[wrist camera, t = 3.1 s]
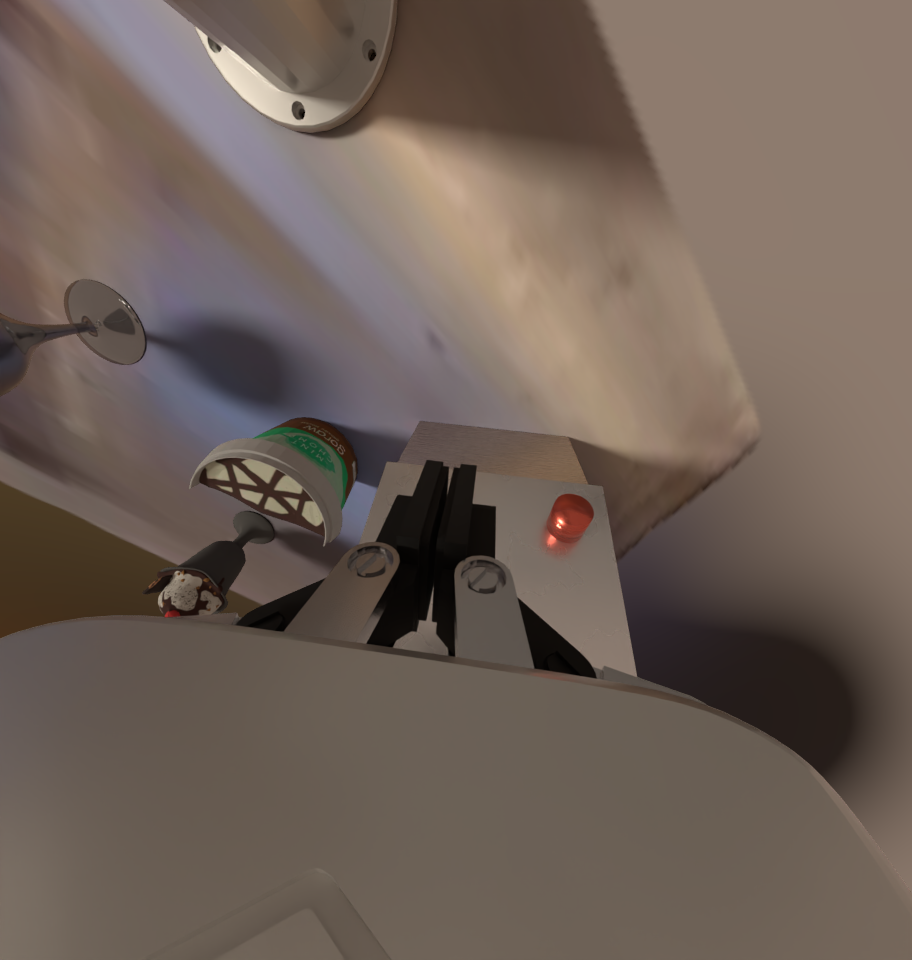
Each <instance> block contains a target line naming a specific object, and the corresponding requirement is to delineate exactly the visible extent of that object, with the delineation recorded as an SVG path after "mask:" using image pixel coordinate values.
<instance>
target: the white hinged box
mask: <svg viewBox="0 0 912 960" xmlns="http://www.w3.org/2000/svg"><path fill="white" fill-rule="evenodd" d="M426 460H433V461H442V462H443V466H448V467H449V469H454V467H457V468H460V465H461V464H468V465H477V469H476V472H483V473H492V474H501V475H509V476H518V477H527V478H536V479H544V480H553V481H562V482H570V483H579V484H588V483H587V480H586V478H585V476H584V473H583V471H582V468H581V466H580V464H579V461H578V459H577V457H576V454H575V452H574V449H573V447H572V445H571V442H570V440H569V438H568V437H563V436H554V435H545V434H536V433H526V432H517V431H508V430H499V429H489V428H480V427H471V426H462V425H452V424H443V423H434V422H425V421H419V423H418V425H417V427H416V429H415V431H414V433H413V434H412V436H411V438H410V440H409V442H408V444H407V446H406V448H405V449H404V451H403V453H402V455H401V457H400V459H399V461H398V462H397V463H405V464H414V465H422V466H424V465H425V463H426Z"/></svg>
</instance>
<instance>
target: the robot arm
mask: <svg viewBox="0 0 912 960" xmlns="http://www.w3.org/2000/svg"><path fill="white" fill-rule="evenodd" d="M164 1H165V2H166V3H167V4H169V5H170V6H171V7H172V8H173V9H175V10H176V11H177V12H178V13H180V14H181V15H182V16H183V17H185V18H186V19H187V20H188V21H189V22H191V23H192V24H193V25H194V27H195V29H196V32H197V34H198V36H199V38H200V40H201V42H202V44H203V45H204V47H205V49H206V51H207V53H208V55H209V57H210V59H211V60H212V62H213V63H214V65H215V66H216V68H217V69H218V71H219V72H220V73H221V75H222V76H223V78H224V79H225V81H226V82H227V83H228V84H229V85H230V86H231V88H232V89H233V90H234V91H235V92H236V93H237V94H238V95H239V96H240V97H241V99H242V100H244V101H245V102H246V103H247V104H249V105H250V106H251V107H252V108H254V109H255V110H256V111H257V112H259V113H260V114H261V115H263V116H265V117H266V118H268V119H269V120H271V121H273V122H274V123H276V124H278V125H281V126H283V127H286V128H288V129H291V130H294V131H301V132H309V133H313V132H321V131H328V130H330V129H333V128H335V127H337V126H339V125H342V124H344V123H345V122H347V121H348V120H349V119H350V118H352V117H353V116H354V115H355V114H357V113H358V112H359V111H360V110H361V108H362V107H363V106H364V105H365V103H366V102H367V101H368V100H369V98H370V97H371V96H372V94H373V93H374V91H375V89H376V87H377V85H378V83H379V81H380V79H381V77H382V75H383V73H384V70H385V67H386V64H387V61H388V58H389V55H390V52H391V48H392V43H393V37H394V32H395V26H396V21H397V2H398V0H164ZM372 53H376V57H375V59H374V60H373V61H370V56H371V54H372ZM303 111H305V116H304V118H303V119H302V113H303ZM476 469H477V465H468V464H461V465H460V468H457V467H454V469H453V473H452V477H451V481H450V486H449V490H448V477H449V467H448V466H443V462H442V461H433V460H426V463H425V465H424V468H423V470H422V473H421V475H420V478H419V480H418V483H417V485H416V488H415V490H414V493H413V496H406V495H397V497H396V498H395V501H394V503H393V505H392V507H391V509H390V511H389V513H388V516H387V518H386V520H385V522H384V524H383V526H382V528H381V531H380V533H379V535H378V537H377V539H376V541H375V542H366V543H363V544H359V545H357V546H355V547H353V548H351V549H350V550H349V551H348V552H347V553H346V554H345V555H344V556H343V557H342V558H341V560H340V561H339V562H338V563H337V565H336V566H335V567H334V568H333V570H332V571H331V572H330V573H329V575H328V576H327V577H326V578H325V579H322V580H320V581H318V582H316V583H313V584H311V585H309V586H306V587H304V588H302V589H300V590H297V591H295V592H293V593H290V594H288V595H286V596H283V597H281V598H279V599H277V600H274V601H272V602H270V603H267V604H265V605H263V606H260V607H258V608H256V609H254V610H253V611H251V612H249V613H247V614H246V615H245V616H244V617H240V618H239V617H238V614H237V613H228V614H227V613H226V614H210V615H193V616H177V617H151V616H119V615H116V616H103V617H88V618H79V619H73V620H67V621H61V622H55V623H50V624H46V625H42V626H38V627H34V628H30V629H27V630H23V631H20V632H17V633H13V634H10V635H8V636H6V637H3V638H1V639H0V960H912V893H911V891H910V890H909V888H908V887H907V886H906V884H905V883H904V881H903V880H902V879H901V877H900V876H899V874H898V873H897V871H896V870H895V868H894V867H893V866H892V864H891V863H890V862H889V860H888V859H887V857H886V856H885V854H884V853H883V852H882V850H881V849H880V848H879V847H878V845H877V844H876V842H875V841H874V840H873V838H872V837H871V836H870V834H869V833H868V832H867V830H866V829H865V828H864V826H863V825H862V824H861V822H860V821H859V820H858V818H857V817H856V816H855V814H854V813H853V812H852V811H851V809H850V808H849V807H848V806H847V805H846V803H845V802H844V801H843V800H842V799H841V797H840V796H839V795H838V794H837V793H836V792H835V790H834V789H833V788H832V787H831V786H830V785H829V784H828V783H827V782H826V780H825V779H824V778H823V777H822V776H821V775H820V774H819V773H818V772H817V771H816V770H815V769H814V768H812V766H811V765H810V764H808V763H807V762H806V761H804V759H802V758H801V757H800V756H799V755H797V754H796V753H795V752H794V751H792V750H791V749H789V748H788V747H786V746H785V745H783V744H782V743H780V742H779V741H777V740H776V739H774V738H772V737H771V736H769V735H767V734H766V733H764V732H762V731H760V730H759V729H757V728H755V727H753V726H751V725H749V724H747V723H745V722H743V721H741V720H739V719H737V718H735V717H733V716H731V715H729V714H727V713H725V712H722V711H720V710H717V709H714V708H712V707H709V706H707V705H706V704H705V703H703V702H701V701H699V700H697V699H695V698H693V697H691V696H689V695H686V694H683V693H680V692H677V691H674V690H672V689H669V688H666V687H663V686H660V685H658V684H655V683H652V682H649V681H646V680H643V679H641V678H638V677H635V676H632V675H629V674H627V673H624V672H621V671H618V670H615V669H612V668H610V667H607V666H603V668H602V670H601V669H598V668H595V667H592V665H591V664H590V662H589V661H588V660H587V659H586V658H585V657H584V656H583V654H582V653H580V652H579V651H578V650H577V649H576V648H575V647H574V646H572V645H571V644H570V643H569V642H568V641H567V640H566V639H565V638H563V637H562V636H561V635H560V634H559V633H558V632H557V631H555V630H554V629H553V628H552V627H551V626H550V625H549V624H548V623H546V622H545V621H544V620H543V619H542V618H541V617H540V616H538V615H537V614H536V613H535V612H534V611H533V610H532V609H530V608H529V607H528V606H527V605H526V604H525V603H524V602H523V601H521V600H520V599H519V598H518V597H517V594H516V590H515V585H514V581H513V577H512V574H511V572H510V570H509V569H508V568H507V567H506V565H505V564H503V563H502V562H500V561H499V560H497V559H495V542H496V506H489V505H481V504H473V495H474V486H475V478H476ZM447 491H448V494H447ZM433 587H434V589H433ZM432 592H433V606H432V622H435V623H437V626H436V635H437V636H438V637H439V638H440V640H441V641H442V642H443V643H444V644H445V646H446V647H447V656H446V655H440V654H433V653H426V652H419V651H412V650H405V649H399V646H400V642H401V637H403V636H405V635H406V634H408V633H410V632H411V631H413V632H417V629H418V625H419V620H421V621H426V619H427V615H428V610H429V606H430V601H431V596H432Z"/></svg>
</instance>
